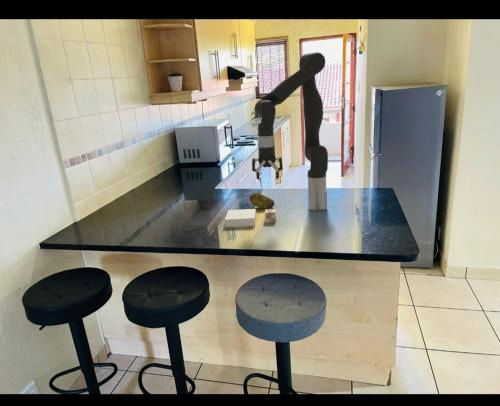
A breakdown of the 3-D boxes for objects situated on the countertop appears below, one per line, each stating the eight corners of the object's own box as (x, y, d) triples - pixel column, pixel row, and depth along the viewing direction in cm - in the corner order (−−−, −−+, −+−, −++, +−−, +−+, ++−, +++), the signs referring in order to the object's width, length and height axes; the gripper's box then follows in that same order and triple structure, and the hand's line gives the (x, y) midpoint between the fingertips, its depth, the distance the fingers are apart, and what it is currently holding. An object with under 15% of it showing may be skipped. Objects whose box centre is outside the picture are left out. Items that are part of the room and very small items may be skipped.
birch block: (275, 218, 186) (275, 208, 184) (276, 222, 181) (275, 212, 180) (265, 218, 186) (265, 209, 185) (265, 222, 182) (264, 212, 180)
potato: (267, 212, 195) (266, 197, 193) (247, 208, 203) (246, 194, 200) (276, 207, 202) (275, 192, 199) (256, 203, 209) (255, 190, 207)
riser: (256, 216, 191) (255, 208, 189) (254, 226, 178) (254, 218, 177) (228, 217, 192) (228, 210, 191) (225, 227, 180) (224, 219, 178)
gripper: (282, 143, 175) (283, 177, 181) (251, 144, 177) (253, 177, 182) (281, 146, 168) (282, 181, 173) (250, 147, 170) (252, 182, 175)
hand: (267, 179), depth 178 cm, fingers open, 8 cm apart
